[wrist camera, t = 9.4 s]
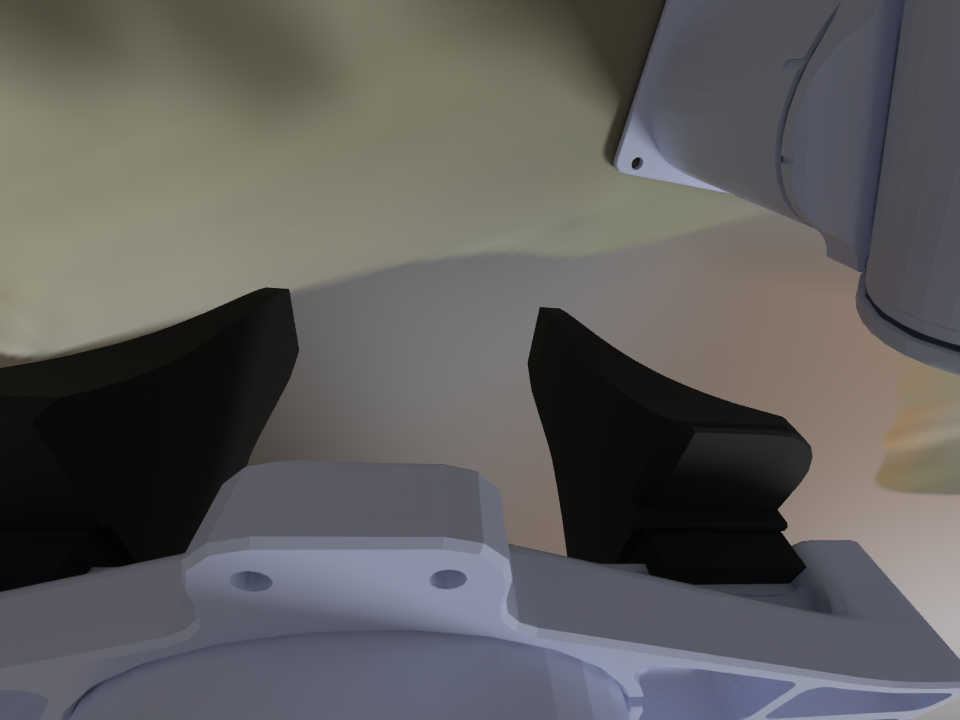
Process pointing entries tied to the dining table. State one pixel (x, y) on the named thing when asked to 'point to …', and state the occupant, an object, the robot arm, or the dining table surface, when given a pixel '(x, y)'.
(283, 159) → the dining table surface
